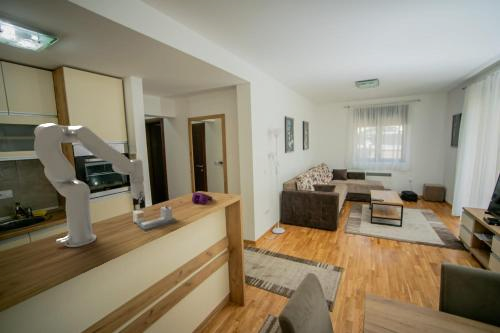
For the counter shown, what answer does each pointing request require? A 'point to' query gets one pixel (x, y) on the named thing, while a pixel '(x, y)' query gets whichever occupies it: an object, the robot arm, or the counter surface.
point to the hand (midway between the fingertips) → (139, 206)
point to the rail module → (138, 216)
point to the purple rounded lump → (200, 198)
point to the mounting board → (158, 220)
